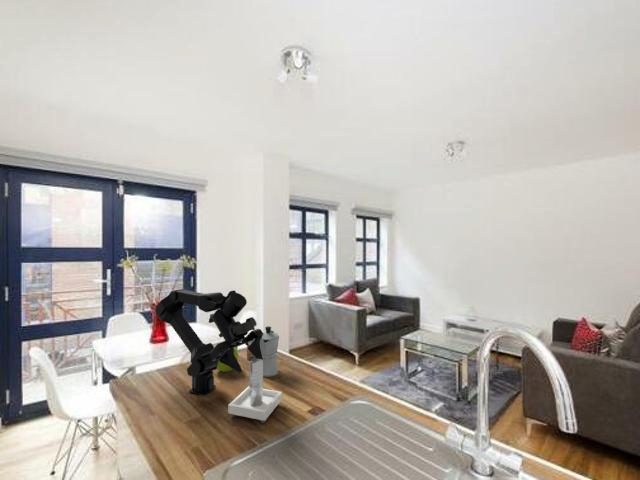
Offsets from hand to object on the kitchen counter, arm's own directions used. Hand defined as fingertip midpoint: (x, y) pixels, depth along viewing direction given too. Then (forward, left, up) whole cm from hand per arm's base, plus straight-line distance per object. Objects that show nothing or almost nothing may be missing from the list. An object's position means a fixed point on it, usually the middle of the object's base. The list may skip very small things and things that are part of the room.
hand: (251, 366), depth 98 cm
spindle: (+2, 0, -11) cm, 11 cm away
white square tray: (+2, 0, -13) cm, 14 cm away
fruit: (-23, +22, -14) cm, 35 cm away
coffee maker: (-7, +27, -14) cm, 31 cm away
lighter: (-18, +37, -14) cm, 43 cm away
